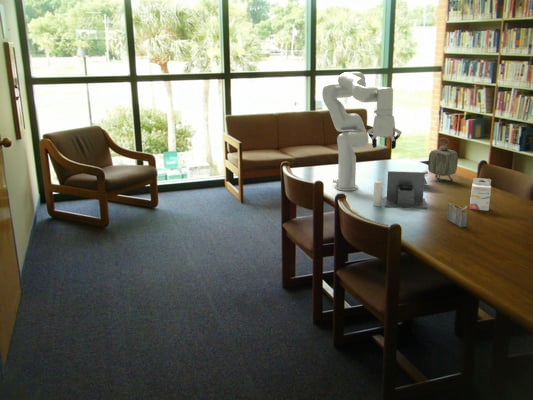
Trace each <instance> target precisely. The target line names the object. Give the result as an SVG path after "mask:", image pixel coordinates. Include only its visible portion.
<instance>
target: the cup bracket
mask: <svg viewBox="0 0 533 400" xmlns="http://www.w3.org/2000/svg"><path fill="white" fill-rule="evenodd" d="M424 177H425V172H424V171H421V172H419V171H397V170H396V171H392V170H391V171H389V170H387V180H386V181H387V182H386V183H387V184H386V196H384V199H383V200H384V208H398V209H401V208H402V209H418V210H419V209H420V210H421V209H423V210H427V208H428V206H427V201H426V199H425V198H424V191H425V190H424V189H425V188H424V187H425V185H424ZM425 178H426V177H425Z"/></svg>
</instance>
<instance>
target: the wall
mask: <svg viewBox="0 0 533 400" xmlns="http://www.w3.org/2000/svg"><path fill="white" fill-rule="evenodd" d="M423 172H425V177H424V186H426V185H427V184H428V182H427V180H426V177H428V176H429V175H431V174H433V173H431V172H429V170H425V171H423Z"/></svg>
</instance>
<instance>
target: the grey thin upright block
mask: <svg viewBox="0 0 533 400" xmlns="http://www.w3.org/2000/svg"><path fill="white" fill-rule="evenodd" d="M468 208H469V206H468V205H466V204H464V205H463V207H461V206H459V205H457V204H454V203H448V204H447V214H446V220H448V222H449V221H450V222H451V223H453V224H455V225H457V226H458V227H460V228H464V227H467V221H468V220H467V219H468V210H466V209H468Z"/></svg>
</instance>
